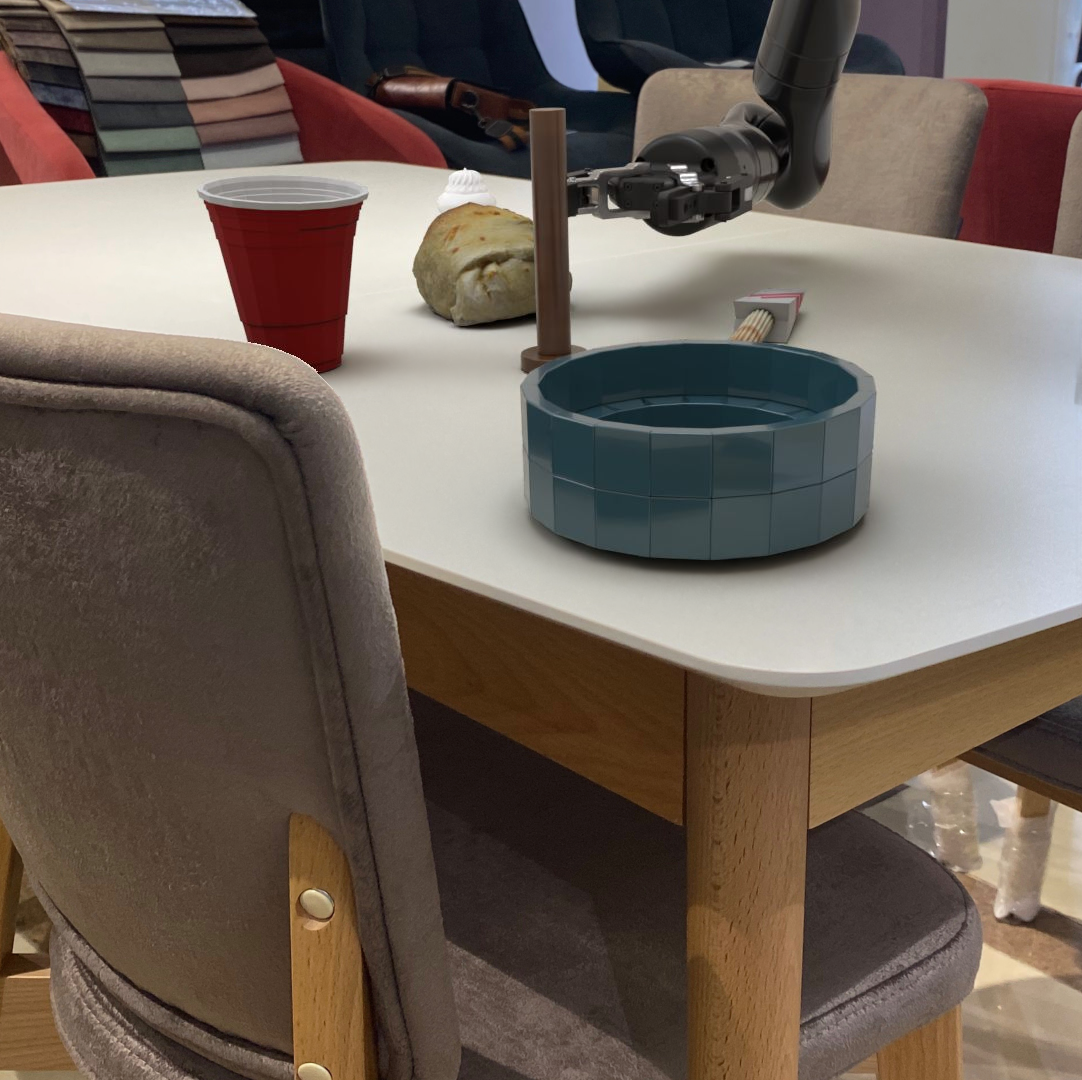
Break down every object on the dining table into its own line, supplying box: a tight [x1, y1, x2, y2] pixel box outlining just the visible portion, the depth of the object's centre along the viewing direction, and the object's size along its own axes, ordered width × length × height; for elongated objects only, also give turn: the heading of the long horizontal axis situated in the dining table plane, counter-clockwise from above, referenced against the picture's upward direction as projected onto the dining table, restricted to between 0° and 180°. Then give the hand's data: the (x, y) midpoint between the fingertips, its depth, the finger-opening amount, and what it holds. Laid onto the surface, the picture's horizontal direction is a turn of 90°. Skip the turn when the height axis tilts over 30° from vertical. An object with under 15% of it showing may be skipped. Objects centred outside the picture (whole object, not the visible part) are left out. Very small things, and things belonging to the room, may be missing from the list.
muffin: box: [436, 167, 498, 214], centre depth 133 cm, size 6×6×7 cm
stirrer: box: [520, 107, 588, 374], centre depth 82 cm, size 4×4×16 cm
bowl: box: [519, 338, 878, 561], centre depth 59 cm, size 16×16×6 cm
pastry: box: [411, 202, 574, 327], centre depth 100 cm, size 14×12×8 cm
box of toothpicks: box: [728, 287, 807, 344], centre depth 89 cm, size 4×3×20 cm
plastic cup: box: [196, 174, 370, 373], centre depth 85 cm, size 11×11×12 cm
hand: (604, 208), depth 87 cm, fingers open, 8 cm apart
